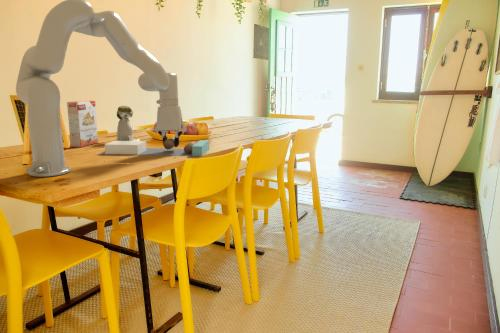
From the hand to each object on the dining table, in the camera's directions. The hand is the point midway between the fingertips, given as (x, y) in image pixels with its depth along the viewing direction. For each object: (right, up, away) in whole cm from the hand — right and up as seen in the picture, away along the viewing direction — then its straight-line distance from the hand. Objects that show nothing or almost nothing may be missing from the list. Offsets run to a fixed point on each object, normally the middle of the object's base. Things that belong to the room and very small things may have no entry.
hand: (171, 146), depth 165 cm
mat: (-7, -3, +1) cm, 8 cm away
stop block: (+13, -3, -1) cm, 13 cm away
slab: (-19, -3, 0) cm, 19 cm away
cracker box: (-46, +1, +21) cm, 50 cm away
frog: (-27, +3, +26) cm, 38 cm away
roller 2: (+8, -3, 0) cm, 9 cm away
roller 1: (0, -1, 0) cm, 1 cm away
